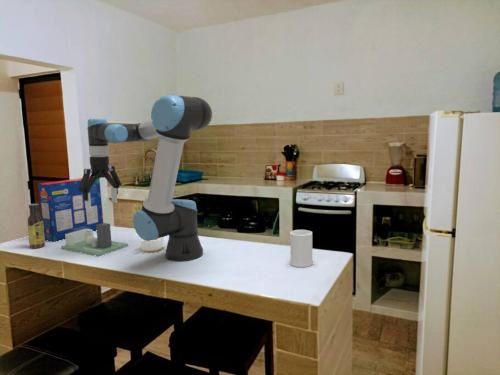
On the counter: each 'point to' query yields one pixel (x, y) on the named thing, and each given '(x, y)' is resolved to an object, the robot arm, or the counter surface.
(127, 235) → the counter surface
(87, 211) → the pasta box
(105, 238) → the striker
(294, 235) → the mug
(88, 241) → the ball
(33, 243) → the sauce bottle
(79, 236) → the pitch
